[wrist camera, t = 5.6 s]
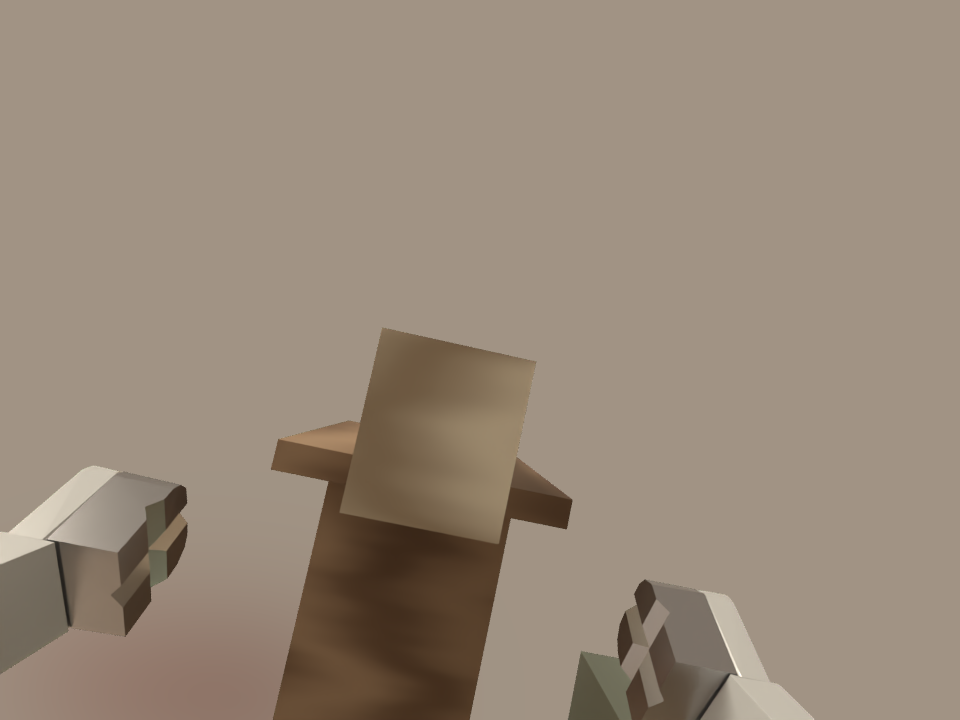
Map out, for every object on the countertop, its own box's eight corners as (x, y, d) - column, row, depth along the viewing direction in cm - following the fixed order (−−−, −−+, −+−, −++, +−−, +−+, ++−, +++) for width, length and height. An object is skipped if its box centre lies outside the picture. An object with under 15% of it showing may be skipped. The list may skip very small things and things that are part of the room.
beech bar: (339, 512, 10) (381, 327, 10) (405, 435, 30) (419, 373, 30) (498, 544, 10) (536, 361, 10) (458, 446, 30) (471, 385, 30)
